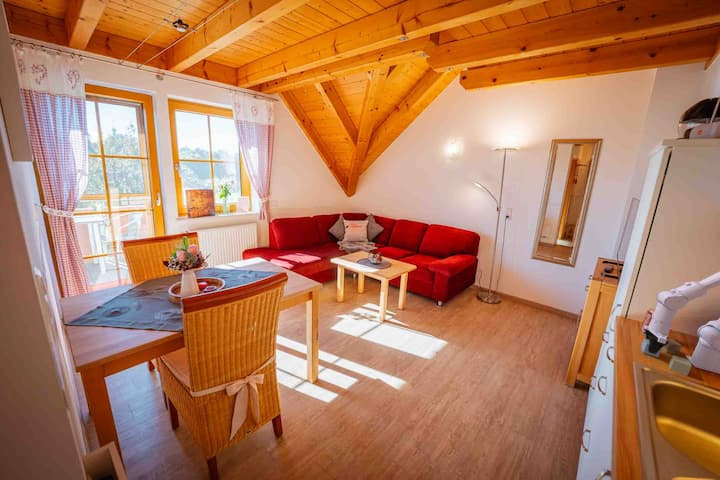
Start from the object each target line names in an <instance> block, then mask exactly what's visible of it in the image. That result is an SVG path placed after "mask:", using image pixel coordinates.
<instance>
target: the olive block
mask: <svg viewBox="0 0 720 480" xmlns="http://www.w3.org/2000/svg"><path fill="white" fill-rule="evenodd" d="M668 367H669V371H672V372H674V373H677V374H680V375H682V376H685V377H688V375H689V373H690V370H691V369H692V363H691V362H690V361H689V360H688V358H684V357H681V356H677V355H676V354H672V356H671V359H670V361H669V363H668Z"/></svg>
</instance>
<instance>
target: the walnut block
mask: <svg viewBox="0 0 720 480" xmlns="http://www.w3.org/2000/svg"><path fill="white" fill-rule="evenodd" d="M666 339H667V340H666V341H668V344H667V345H665V346H663V347H662V349H661V351H662V352H664V353H665V354H669V355H670V354H671V355H675V356H677V355H679V354H680V351H681V349H682V347H683V346H682V344H680V343H678V342H677V341H676V340H675V339H673V338H668V337H667V338H666Z"/></svg>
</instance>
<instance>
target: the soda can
mask: <svg viewBox="0 0 720 480" xmlns="http://www.w3.org/2000/svg"><path fill="white" fill-rule="evenodd" d="M655 309H656V308H649V309H648V310H647V311H646V313H645V316H644V319H643V321H642V324H641V327H640V329H639V332H640V334H642V335H643V334H644V336H646V333H645V329H644V326H649V324H650V322H651V319H652V317H653V314H654V311H655Z"/></svg>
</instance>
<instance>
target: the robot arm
mask: <svg viewBox="0 0 720 480" xmlns="http://www.w3.org/2000/svg"><path fill="white" fill-rule="evenodd" d="M719 286H720V271H718V272H716V273H714V274H712V275H710V276H708V277H706V278H704V279H702V280H699V281H693V280H691V281H686V282H685V283H684V284H682V285H680V286H678V287H676V288H672V289H670V290H667V291H666V290H664V291H661V292H659V293H658V294H657V295H655V298H656V301H657V303H656V307H655V308H654V309H655V311H654V314H653V317H652V319H651V322H650V324H649V326H644V329H645V333H646V335H645V339H648V340H649V348H648V351H649V352H650V353H653V354H656V353H657V352H658V351H659V350H660V349H661V348H662V347H663V346H665V345H667V344H668V341H666V340H667V339H668V337H669V333H670V330H671V328H672V325H673V323H674V320H675V318H676V315H677V314H678V311H679V310H682V309H684V308H685V307H686V305H687V304H688V303H689V302H692V301H693V300H697V299H699V298H701V297H703V296H705V295H707V293H708V290H711V289H714V288H717V287H719ZM697 335H698V342H697V345H696V346H695V349H694V351H693V354H692V356H691V355H687V354H686V355H685V357H686V359H687V360H689V361H690V363H691V365H693V367H695V368H697V369H701V370H705V371H707V372H712V373H714V374H715V373H716V374H718V375H720V317H719V318H718V319H717V320H710V321H708V322H707V323H706V324H704V325H701V326H700V327H699V328H698V329H697ZM666 338H667V339H666Z"/></svg>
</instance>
